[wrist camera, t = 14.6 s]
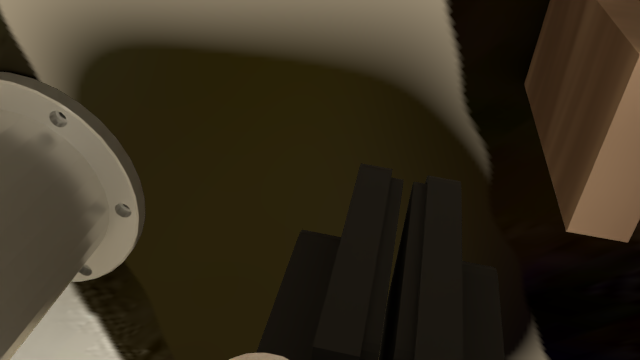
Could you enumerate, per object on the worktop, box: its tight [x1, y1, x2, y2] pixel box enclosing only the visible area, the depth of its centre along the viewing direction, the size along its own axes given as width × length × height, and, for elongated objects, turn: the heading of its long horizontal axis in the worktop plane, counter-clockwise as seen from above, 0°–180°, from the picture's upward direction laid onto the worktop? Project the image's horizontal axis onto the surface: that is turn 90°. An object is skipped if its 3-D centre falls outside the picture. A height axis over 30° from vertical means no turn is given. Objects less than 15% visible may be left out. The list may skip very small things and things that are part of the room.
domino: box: [524, 0, 640, 242], centre depth 18 cm, size 2×5×10 cm, turn 174°
